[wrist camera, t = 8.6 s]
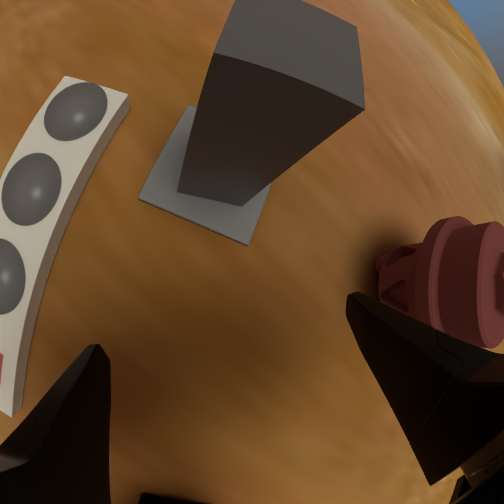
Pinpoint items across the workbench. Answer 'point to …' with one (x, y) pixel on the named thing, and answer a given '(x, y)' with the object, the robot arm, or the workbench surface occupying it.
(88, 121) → the power strip
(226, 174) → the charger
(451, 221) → the mechanical component
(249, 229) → the mat
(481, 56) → the workbench surface
